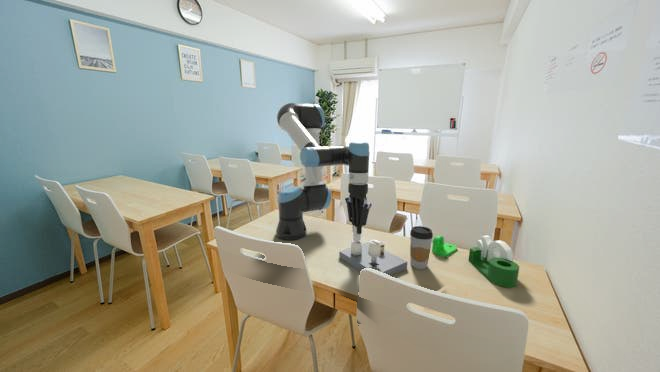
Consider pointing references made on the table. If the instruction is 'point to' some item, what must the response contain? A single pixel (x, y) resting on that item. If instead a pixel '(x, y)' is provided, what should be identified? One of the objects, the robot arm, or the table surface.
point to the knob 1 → (356, 248)
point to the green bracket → (495, 268)
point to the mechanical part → (442, 247)
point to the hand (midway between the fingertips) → (356, 240)
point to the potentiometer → (382, 249)
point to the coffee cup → (420, 246)
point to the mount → (384, 262)
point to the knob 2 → (374, 250)
